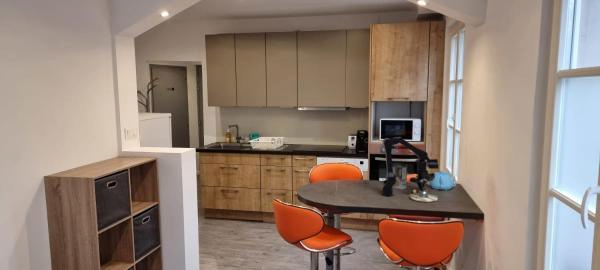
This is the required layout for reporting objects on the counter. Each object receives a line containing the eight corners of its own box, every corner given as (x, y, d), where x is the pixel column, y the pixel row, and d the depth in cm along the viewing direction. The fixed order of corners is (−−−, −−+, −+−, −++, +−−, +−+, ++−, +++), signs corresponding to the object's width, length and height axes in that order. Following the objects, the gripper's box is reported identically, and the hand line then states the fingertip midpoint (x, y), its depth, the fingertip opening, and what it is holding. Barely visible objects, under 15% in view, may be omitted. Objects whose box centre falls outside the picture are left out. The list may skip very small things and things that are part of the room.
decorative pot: (439, 192, 285) (440, 173, 283) (425, 187, 300) (425, 169, 298) (457, 190, 291) (458, 172, 289) (442, 185, 306) (443, 168, 304)
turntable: (426, 203, 254) (426, 196, 253) (404, 197, 268) (404, 191, 268) (443, 199, 264) (443, 192, 264) (421, 193, 279) (421, 187, 278)
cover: (424, 198, 261) (424, 192, 261) (416, 196, 266) (417, 190, 266) (430, 196, 265) (430, 191, 264) (422, 195, 270) (422, 189, 269)
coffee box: (407, 188, 297) (407, 166, 295) (401, 189, 293) (402, 168, 291) (396, 186, 304) (397, 165, 302) (391, 187, 299) (392, 166, 298)
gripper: (423, 172, 261) (422, 195, 263) (440, 169, 272) (439, 191, 273) (409, 169, 270) (408, 192, 272) (426, 166, 281) (426, 188, 282)
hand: (421, 191), depth 275 cm, fingers closed
